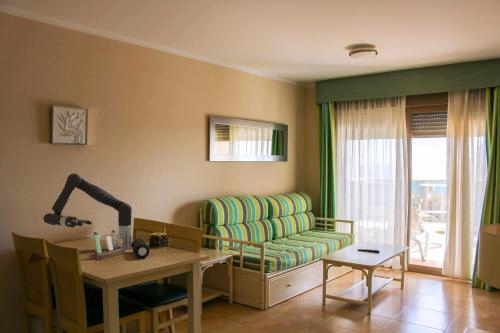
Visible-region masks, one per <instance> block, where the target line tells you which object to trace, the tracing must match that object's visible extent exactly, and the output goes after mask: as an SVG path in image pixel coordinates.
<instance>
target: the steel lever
mask: <svg viewBox="0 0 500 333" xmlns="http://www.w3.org/2000/svg"><path fill="white" fill-rule="evenodd" d="M110 232H111V240H112V245H113V247H116V249H118V238H117V237H118V236H117V234H116V231H115V230H114V229H112V230H111V231H110ZM115 240H117V242H116V241H115Z"/></svg>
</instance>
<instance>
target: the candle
mask: <svg viewBox="0 0 500 333" xmlns="http://www.w3.org/2000/svg"><path fill="white" fill-rule="evenodd" d="M167 237H168V233H165V232H154V233H153V232H152V233H150V234H149V235H148V239H149V240H148V241H149V242H148V244H149V245H148V247H149V248H154V247H162V248H164V247H168V238H167Z"/></svg>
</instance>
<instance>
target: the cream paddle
mask: <svg viewBox="0 0 500 333" xmlns="http://www.w3.org/2000/svg"><path fill="white" fill-rule="evenodd" d="M104 238H105V243H106V249H109V251H110V250H113V247H114V245H113V239H112V234H111V235H107V236H104Z"/></svg>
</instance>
